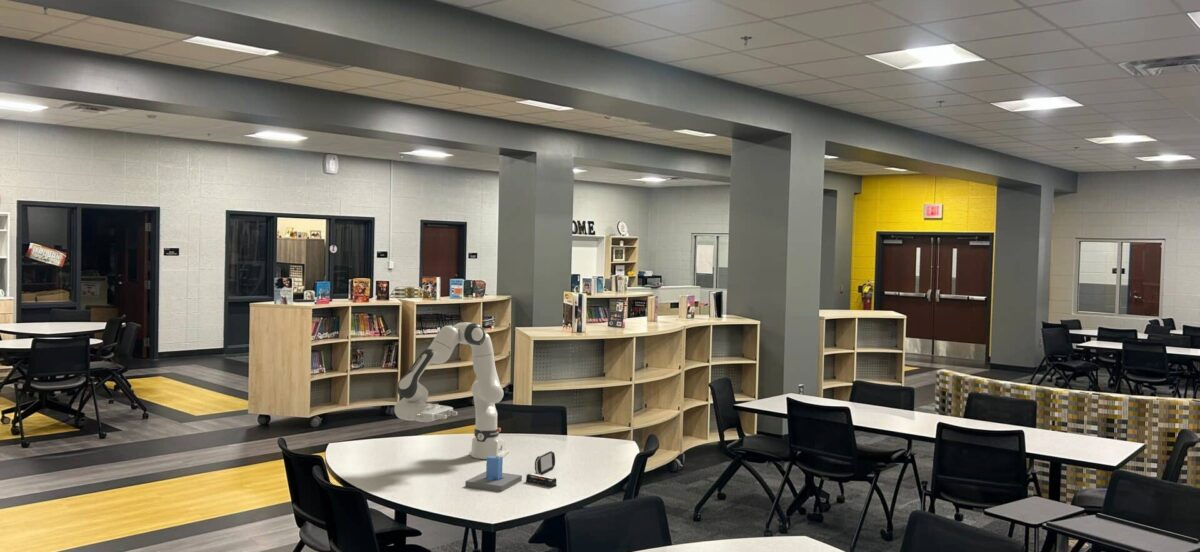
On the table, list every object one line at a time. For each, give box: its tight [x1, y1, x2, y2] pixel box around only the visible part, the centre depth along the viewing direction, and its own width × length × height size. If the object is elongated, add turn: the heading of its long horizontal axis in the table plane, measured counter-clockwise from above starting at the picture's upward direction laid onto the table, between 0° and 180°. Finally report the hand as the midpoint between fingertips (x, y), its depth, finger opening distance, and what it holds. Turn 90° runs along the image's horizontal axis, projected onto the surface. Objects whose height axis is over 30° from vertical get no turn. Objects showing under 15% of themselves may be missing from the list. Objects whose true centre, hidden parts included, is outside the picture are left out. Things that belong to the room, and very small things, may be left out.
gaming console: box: [534, 450, 556, 476], centre depth 397 cm, size 19×9×2 cm
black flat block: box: [525, 472, 557, 488], centre depth 374 cm, size 14×25×4 cm, turn 57°
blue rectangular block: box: [485, 454, 504, 481], centre depth 374 cm, size 10×6×13 cm, turn 160°
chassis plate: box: [465, 471, 523, 493], centre depth 374 cm, size 20×18×2 cm
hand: (451, 415), depth 386 cm, fingers open, 8 cm apart
